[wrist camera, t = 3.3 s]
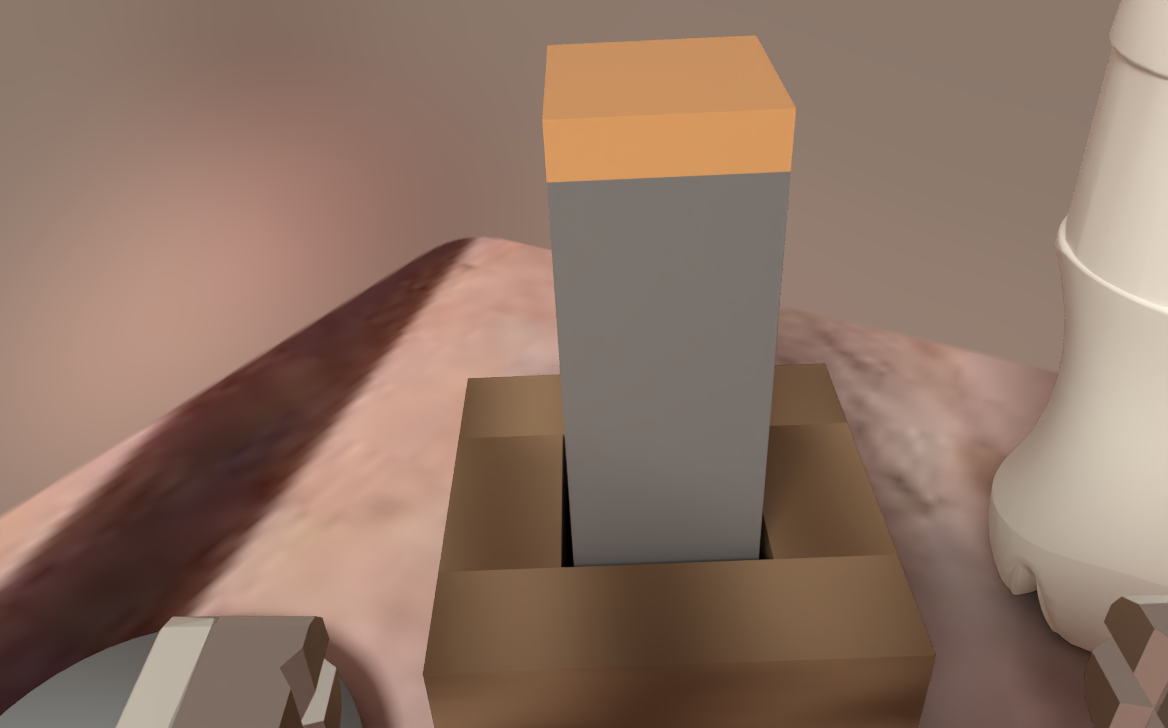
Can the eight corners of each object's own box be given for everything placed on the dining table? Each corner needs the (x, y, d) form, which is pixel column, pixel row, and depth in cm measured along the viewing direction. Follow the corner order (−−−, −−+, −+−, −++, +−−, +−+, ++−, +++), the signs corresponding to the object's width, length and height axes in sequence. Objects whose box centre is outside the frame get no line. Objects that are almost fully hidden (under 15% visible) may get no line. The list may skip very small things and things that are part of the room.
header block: (807, 507, 33) (824, 363, 30) (897, 812, 24) (936, 655, 21) (487, 520, 33) (467, 378, 30) (455, 827, 24) (422, 674, 21)
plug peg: (726, 560, 30) (756, 35, 21) (748, 681, 26) (795, 108, 17) (581, 565, 30) (547, 45, 21) (582, 688, 26) (542, 119, 17)
